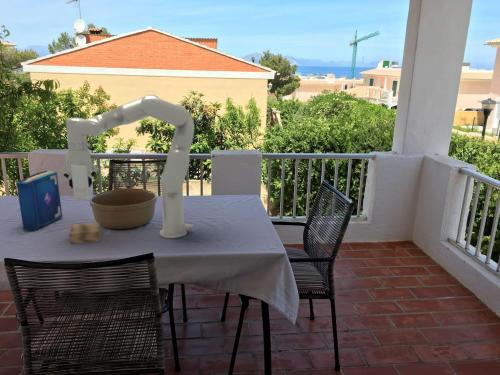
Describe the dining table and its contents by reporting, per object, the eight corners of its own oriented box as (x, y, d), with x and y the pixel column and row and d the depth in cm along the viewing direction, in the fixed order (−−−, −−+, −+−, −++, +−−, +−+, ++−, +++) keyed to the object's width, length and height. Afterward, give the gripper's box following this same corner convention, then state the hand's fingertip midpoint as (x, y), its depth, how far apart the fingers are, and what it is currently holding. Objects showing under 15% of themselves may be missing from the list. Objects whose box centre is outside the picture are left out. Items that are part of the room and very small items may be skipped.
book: (33, 232, 190) (27, 180, 184) (20, 231, 192) (13, 179, 185) (63, 218, 211) (58, 170, 205) (51, 216, 212) (45, 169, 206)
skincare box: (89, 200, 179) (87, 165, 175) (73, 201, 176) (70, 165, 172) (89, 195, 186) (86, 161, 182) (73, 196, 184) (70, 162, 180)
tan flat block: (100, 232, 194) (99, 222, 192) (99, 241, 183) (98, 231, 181) (72, 234, 190) (71, 224, 189) (70, 244, 179) (69, 234, 178)
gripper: (98, 144, 182) (100, 183, 187) (55, 146, 175) (59, 186, 180) (99, 147, 176) (102, 187, 180) (55, 149, 169) (59, 191, 173)
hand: (80, 186), depth 180 cm, fingers closed on skincare box, 6 cm apart
